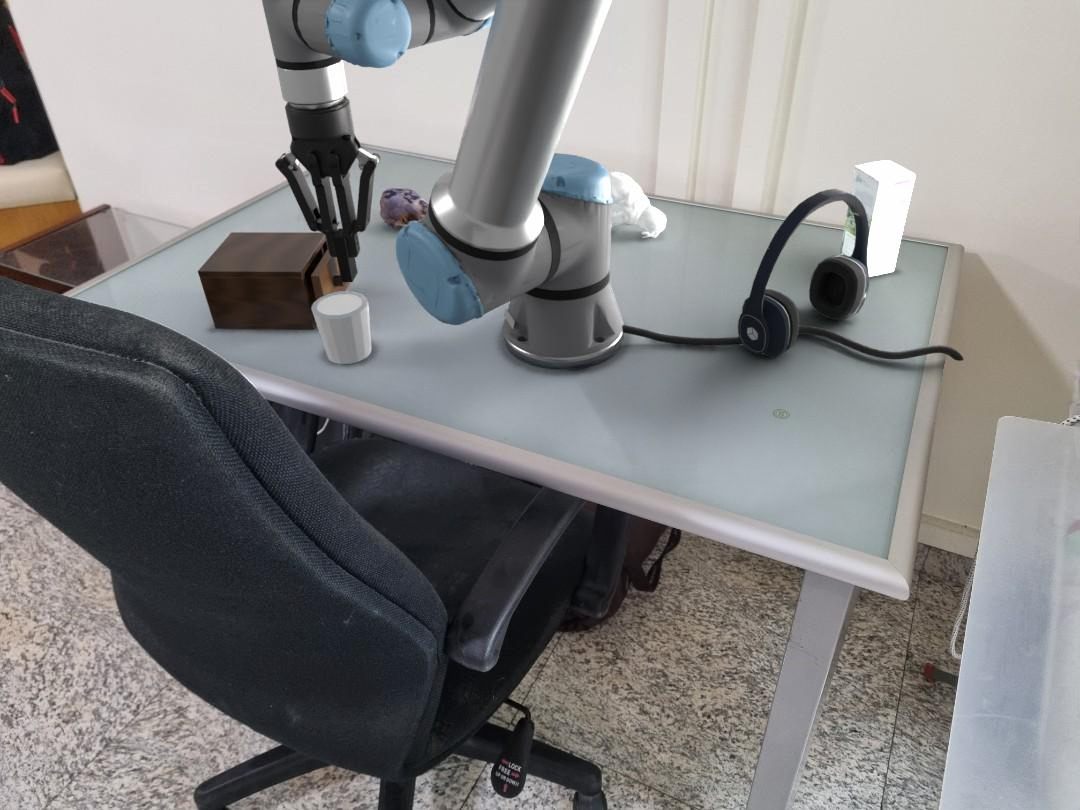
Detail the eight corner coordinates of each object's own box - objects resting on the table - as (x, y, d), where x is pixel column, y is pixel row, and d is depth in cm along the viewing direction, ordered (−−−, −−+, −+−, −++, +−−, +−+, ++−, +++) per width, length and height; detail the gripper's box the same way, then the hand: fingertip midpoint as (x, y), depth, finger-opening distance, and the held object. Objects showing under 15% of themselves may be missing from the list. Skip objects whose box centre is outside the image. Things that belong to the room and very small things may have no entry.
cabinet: (337, 287, 120) (326, 232, 115) (313, 330, 111) (300, 271, 106) (246, 287, 122) (231, 232, 117) (215, 328, 112) (197, 271, 107)
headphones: (827, 296, 113) (852, 165, 103) (871, 316, 109) (902, 180, 98) (725, 348, 104) (741, 209, 93) (769, 372, 99) (791, 229, 89)
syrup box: (895, 272, 118) (919, 172, 110) (859, 279, 117) (880, 179, 108) (870, 255, 123) (891, 158, 114) (835, 262, 121) (854, 164, 113)
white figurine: (616, 162, 132) (680, 186, 126) (611, 212, 137) (672, 237, 132) (591, 175, 128) (656, 200, 122) (587, 225, 134) (649, 252, 128)
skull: (460, 221, 136) (452, 187, 132) (430, 245, 132) (420, 210, 128) (407, 209, 142) (397, 176, 138) (376, 231, 138) (365, 198, 134)
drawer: (358, 284, 119) (349, 240, 115) (338, 322, 111) (328, 276, 107) (264, 283, 120) (253, 240, 116) (238, 321, 112) (225, 275, 108)
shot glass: (365, 369, 103) (355, 320, 99) (313, 364, 104) (301, 315, 100) (384, 339, 109) (376, 291, 104) (334, 335, 110) (324, 288, 106)
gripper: (378, 89, 101) (403, 265, 115) (273, 89, 102) (311, 263, 117) (362, 109, 95) (390, 292, 109) (251, 109, 96) (293, 290, 111)
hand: (349, 277), depth 113 cm, fingers closed
